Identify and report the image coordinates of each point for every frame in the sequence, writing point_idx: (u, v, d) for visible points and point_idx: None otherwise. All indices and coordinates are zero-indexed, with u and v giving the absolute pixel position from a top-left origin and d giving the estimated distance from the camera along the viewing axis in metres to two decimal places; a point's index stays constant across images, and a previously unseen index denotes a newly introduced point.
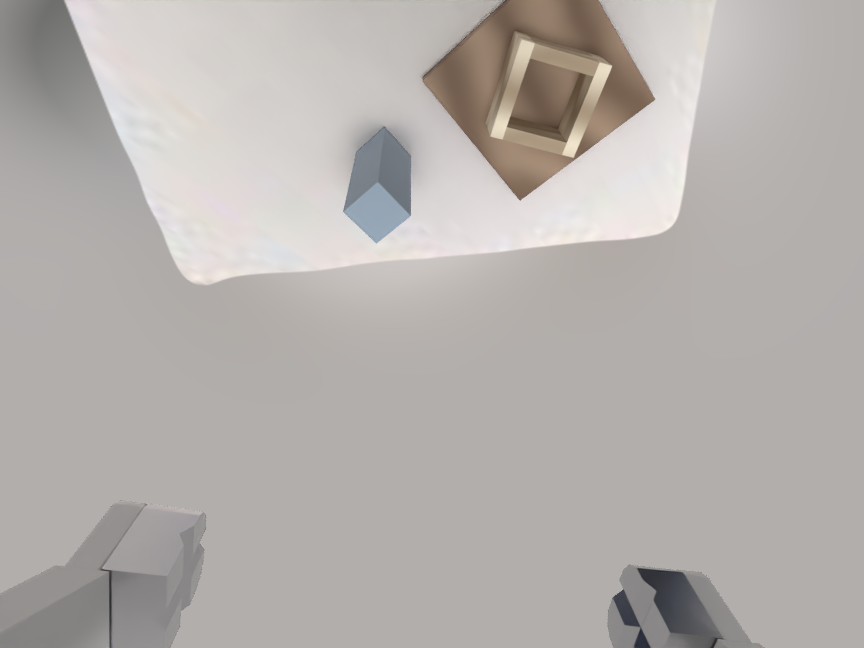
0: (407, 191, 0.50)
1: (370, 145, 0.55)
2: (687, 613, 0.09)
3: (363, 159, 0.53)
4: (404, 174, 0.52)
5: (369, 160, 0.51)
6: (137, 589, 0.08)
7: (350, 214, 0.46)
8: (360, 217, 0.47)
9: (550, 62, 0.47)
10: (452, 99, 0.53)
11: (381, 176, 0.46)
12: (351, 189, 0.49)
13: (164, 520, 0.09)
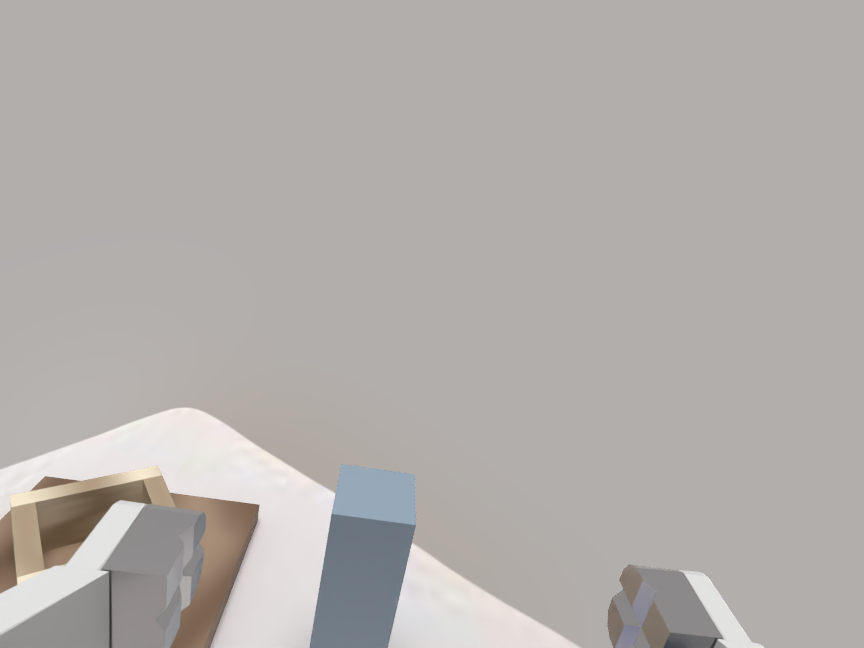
0: None
1: None
2: (687, 613, 0.09)
3: None
4: None
5: (342, 634, 0.28)
6: (137, 589, 0.08)
7: (410, 516, 0.27)
8: (401, 504, 0.27)
9: (38, 547, 0.31)
10: None
11: None
12: (391, 584, 0.27)
13: (164, 520, 0.09)
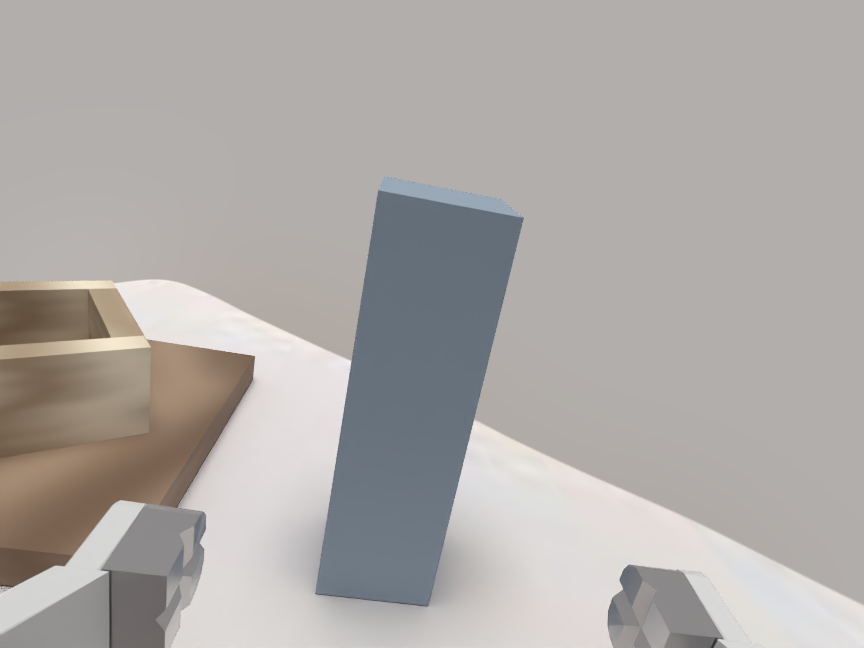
0: None
1: (375, 550, 0.19)
2: (687, 613, 0.09)
3: (410, 492, 0.18)
4: None
5: (390, 437, 0.17)
6: (137, 589, 0.08)
7: (511, 213, 0.16)
8: (491, 206, 0.16)
9: None
10: (133, 493, 0.20)
11: (369, 249, 0.15)
12: (475, 340, 0.16)
13: (164, 520, 0.09)
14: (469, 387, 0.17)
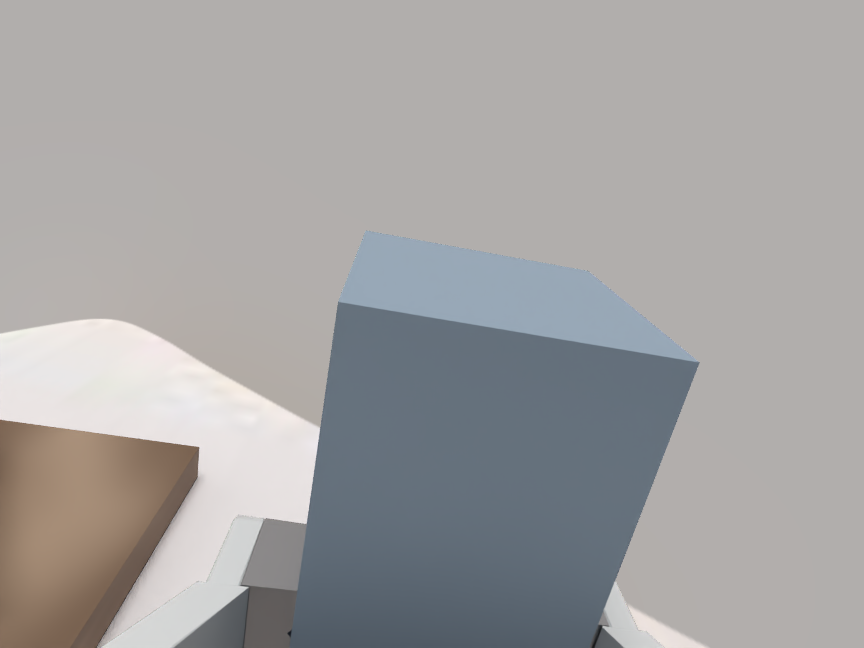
0: None
1: None
2: None
3: None
4: None
5: None
6: (273, 604, 0.08)
7: (657, 340, 0.07)
8: (599, 313, 0.07)
9: None
10: None
11: (322, 427, 0.07)
12: (563, 611, 0.07)
13: (286, 535, 0.09)
14: None
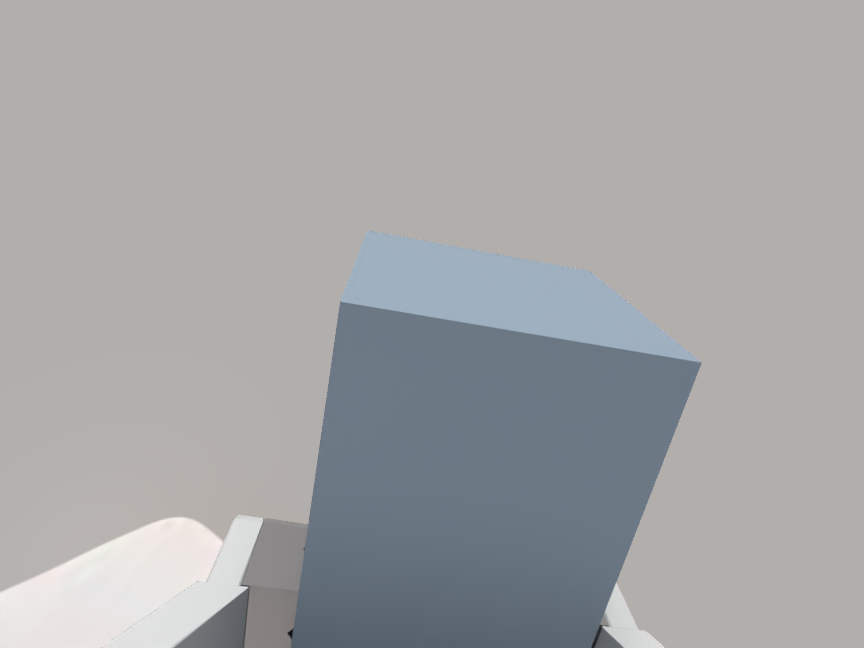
0: None
1: None
2: None
3: None
4: None
5: None
6: (273, 604, 0.08)
7: (659, 340, 0.07)
8: (601, 313, 0.07)
9: None
10: None
11: (324, 427, 0.07)
12: (565, 612, 0.07)
13: (286, 535, 0.09)
14: None
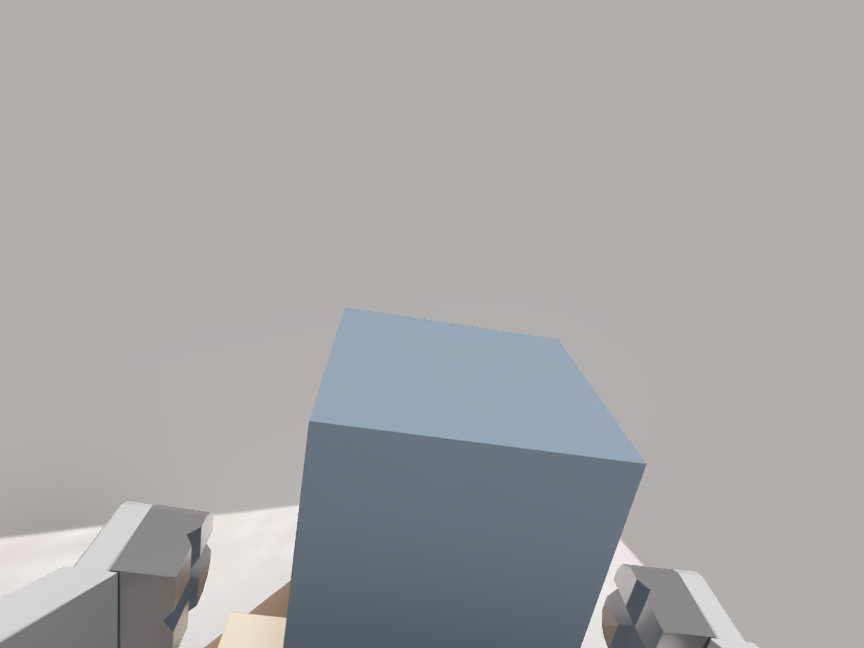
0: None
1: None
2: (680, 612, 0.09)
3: None
4: None
5: None
6: (146, 590, 0.08)
7: (610, 435, 0.07)
8: (559, 403, 0.08)
9: None
10: None
11: (299, 524, 0.07)
12: None
13: (172, 521, 0.09)
14: None
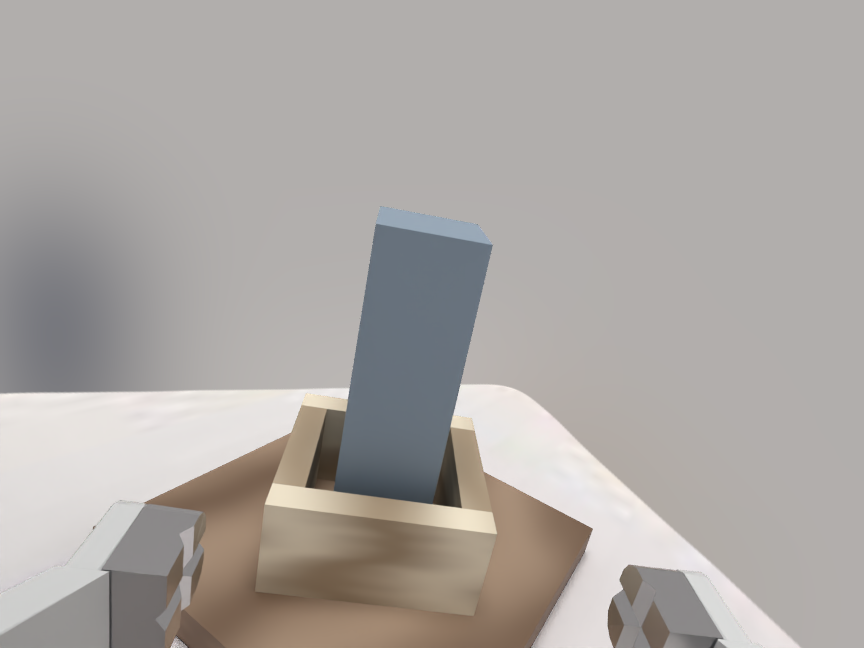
0: None
1: None
2: (687, 613, 0.09)
3: (402, 469, 0.22)
4: None
5: (386, 423, 0.21)
6: (137, 589, 0.08)
7: (483, 240, 0.19)
8: (468, 233, 0.20)
9: (309, 458, 0.22)
10: None
11: None
12: (455, 342, 0.20)
13: (164, 520, 0.09)
14: (450, 381, 0.20)
